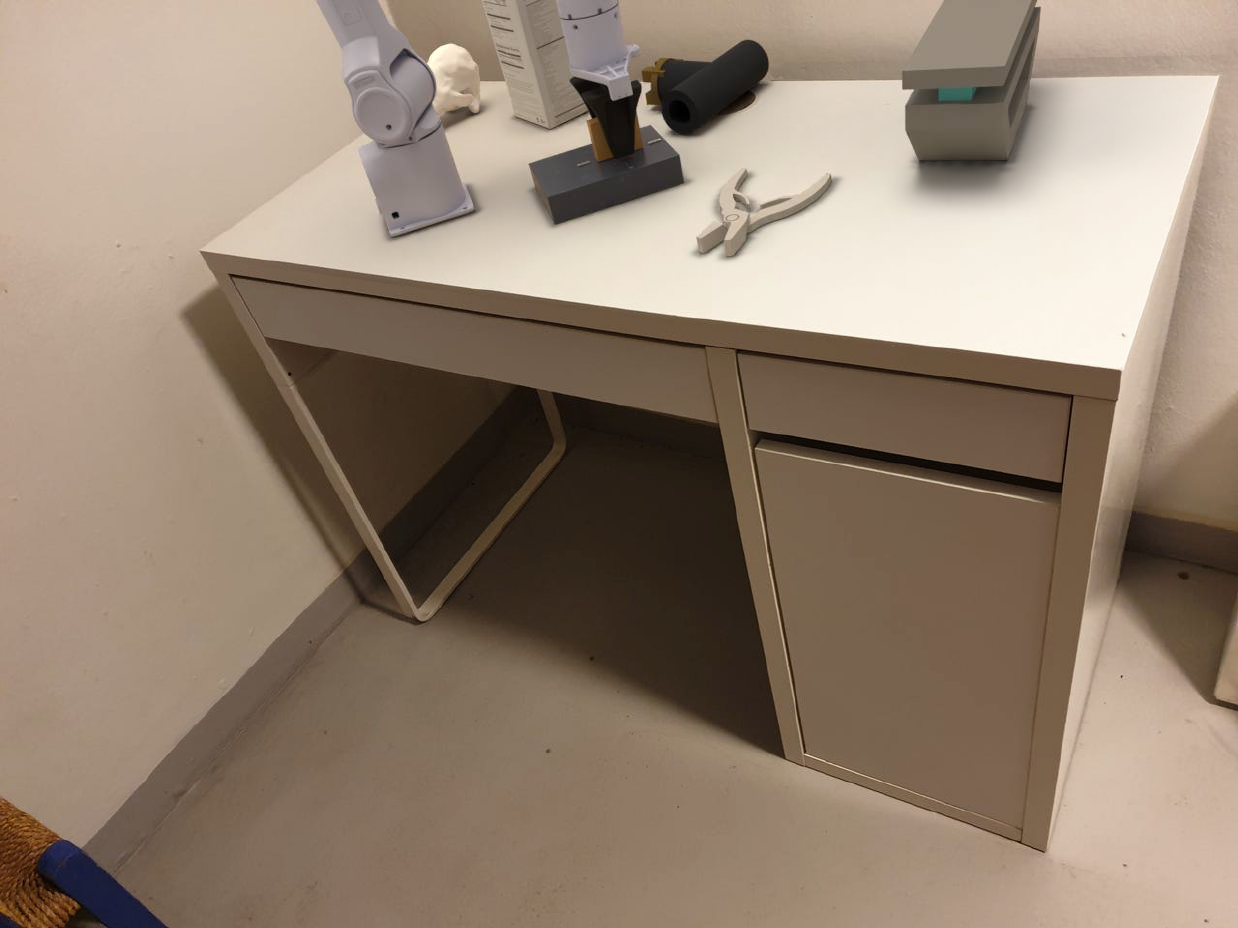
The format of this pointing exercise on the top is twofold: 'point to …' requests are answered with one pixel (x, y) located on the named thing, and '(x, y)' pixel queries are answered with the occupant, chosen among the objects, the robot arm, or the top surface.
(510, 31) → the supplement box
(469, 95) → the white lumpy rounded piece
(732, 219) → the pliers
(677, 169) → the dark slotted flat block
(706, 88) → the pipe connector
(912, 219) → the top surface
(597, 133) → the tan upright tile
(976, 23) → the grey slotted box
